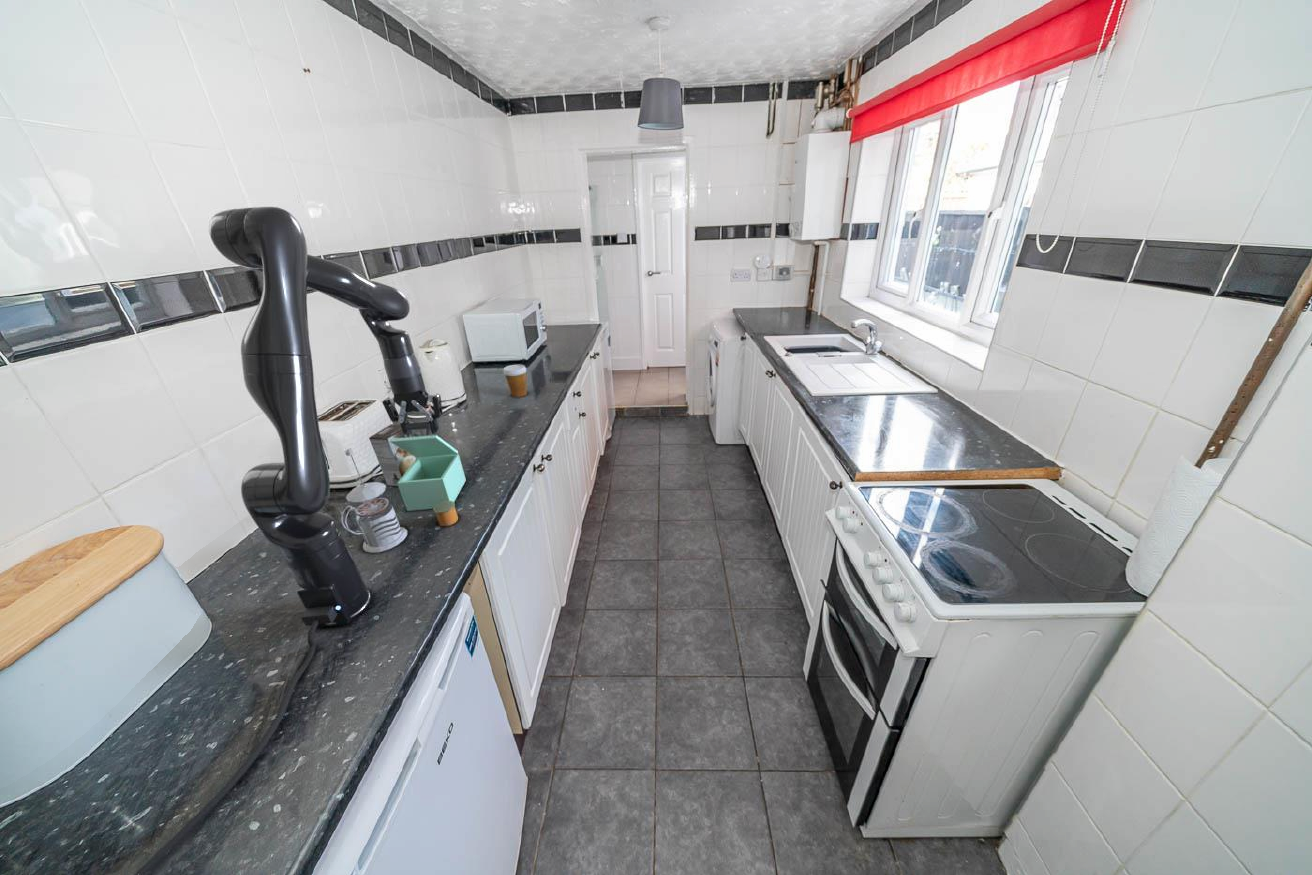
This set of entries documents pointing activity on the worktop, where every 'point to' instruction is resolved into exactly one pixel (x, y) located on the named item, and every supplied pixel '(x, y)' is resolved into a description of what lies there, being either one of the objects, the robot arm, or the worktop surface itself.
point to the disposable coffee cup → (516, 379)
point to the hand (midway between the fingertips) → (422, 433)
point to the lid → (423, 442)
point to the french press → (376, 535)
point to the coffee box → (391, 454)
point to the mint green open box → (432, 481)
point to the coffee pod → (446, 513)
